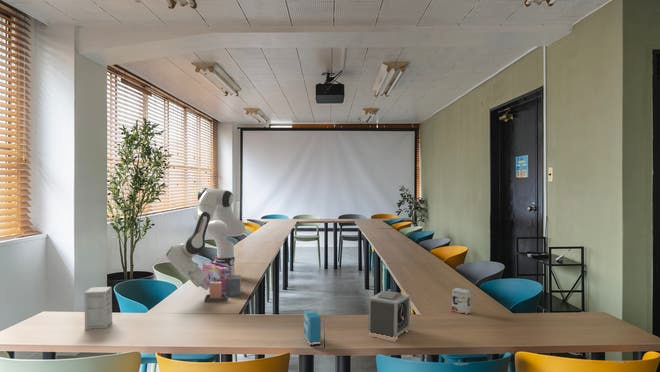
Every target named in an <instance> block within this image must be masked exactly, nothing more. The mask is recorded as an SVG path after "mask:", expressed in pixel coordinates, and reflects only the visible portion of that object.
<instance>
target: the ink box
mask: <svg viewBox="0 0 660 372" xmlns="http://www.w3.org/2000/svg"><path fill="white" fill-rule="evenodd" d="M471 297H472V291H471V289H466V288H459V287H455V288H453V289H452V291H451V311H452V310H456V311H461V312H469V311H470V312H471V305H472V302H471V300H472V298H471Z"/></svg>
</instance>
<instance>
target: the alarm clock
mask: <svg viewBox="0 0 660 372" xmlns="http://www.w3.org/2000/svg"><path fill="white" fill-rule="evenodd" d="M410 313H411V295H410V294H407V293H406V294H405V293H402V292H397V291H390V290H383V291H380V292H379V293H376V294H375V295H373V296H369V299H368V332H369V331H370V332H371V333H376V334H381V335H386V336H390V337H393V336H394V337H397V336H399V337H400V336H401V334H403V333H405V332H404V331H406V330H408V329H409V328H410V329H411V326H410V321H411V319H410V317H411V314H410Z"/></svg>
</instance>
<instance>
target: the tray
mask: <svg viewBox="0 0 660 372" xmlns="http://www.w3.org/2000/svg"><path fill="white" fill-rule="evenodd" d="M226 300H227V296H226V293H224V294H221V298H210V293H209V294H206V295H205V297H204V303H220V302H226Z"/></svg>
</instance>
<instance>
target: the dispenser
mask: <svg viewBox="0 0 660 372" xmlns="http://www.w3.org/2000/svg"><path fill="white" fill-rule="evenodd" d="M225 279H226V290H225V291H221V294H226V297H241V293H242V275H241V274H236V275H227V276H225Z"/></svg>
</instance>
